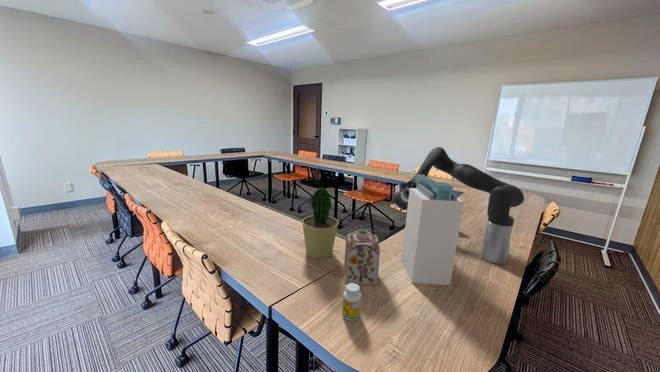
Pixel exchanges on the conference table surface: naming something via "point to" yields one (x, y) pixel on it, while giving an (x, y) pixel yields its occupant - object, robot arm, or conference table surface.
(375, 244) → the decorative jar
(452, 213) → the tall white pedestal box
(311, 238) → the potted cactus
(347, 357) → the conference table surface
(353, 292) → the supplement bottle
